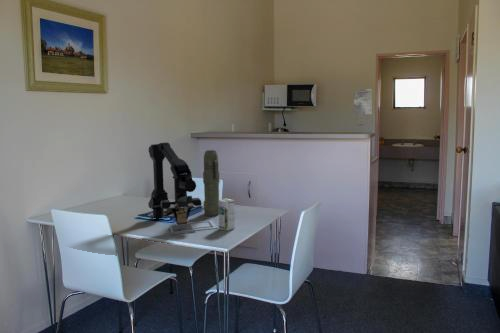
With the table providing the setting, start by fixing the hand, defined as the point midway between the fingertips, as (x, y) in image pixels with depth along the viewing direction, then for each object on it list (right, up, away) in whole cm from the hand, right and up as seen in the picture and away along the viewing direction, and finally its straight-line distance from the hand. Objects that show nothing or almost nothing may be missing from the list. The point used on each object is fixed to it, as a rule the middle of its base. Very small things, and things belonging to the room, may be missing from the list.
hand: (181, 220), depth 213 cm
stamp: (0, -1, 0) cm, 1 cm away
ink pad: (0, -5, +1) cm, 5 cm away
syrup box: (+22, -5, +2) cm, 22 cm away
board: (+9, -4, +7) cm, 12 cm away
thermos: (+12, 0, +30) cm, 32 cm away
